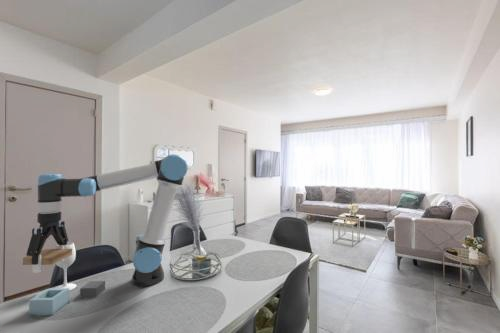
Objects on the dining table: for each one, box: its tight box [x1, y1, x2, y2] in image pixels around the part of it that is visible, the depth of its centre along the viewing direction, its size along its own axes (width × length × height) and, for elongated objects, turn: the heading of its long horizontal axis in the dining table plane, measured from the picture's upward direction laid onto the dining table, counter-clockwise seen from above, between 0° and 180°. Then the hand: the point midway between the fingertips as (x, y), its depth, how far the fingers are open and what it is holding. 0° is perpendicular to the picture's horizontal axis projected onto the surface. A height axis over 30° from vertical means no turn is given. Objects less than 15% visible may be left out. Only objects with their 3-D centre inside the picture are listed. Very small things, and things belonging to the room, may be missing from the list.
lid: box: [22, 248, 72, 266], centre depth 100 cm, size 11×11×2 cm
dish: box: [28, 288, 70, 316], centre depth 100 cm, size 9×9×6 cm
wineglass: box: [54, 241, 77, 292], centre depth 117 cm, size 9×9×21 cm
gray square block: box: [79, 280, 106, 298], centre depth 113 cm, size 7×7×4 cm
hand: (49, 266), depth 100 cm, fingers closed on lid, 11 cm apart
